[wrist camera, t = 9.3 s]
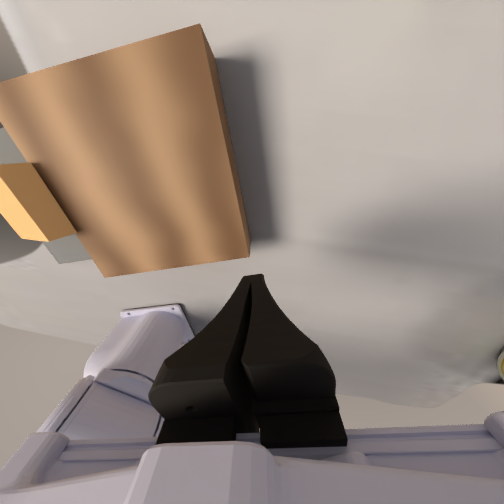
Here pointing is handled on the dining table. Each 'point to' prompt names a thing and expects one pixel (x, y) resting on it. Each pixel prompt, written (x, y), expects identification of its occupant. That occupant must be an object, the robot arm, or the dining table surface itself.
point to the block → (31, 204)
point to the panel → (135, 152)
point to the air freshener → (501, 364)
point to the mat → (62, 249)
